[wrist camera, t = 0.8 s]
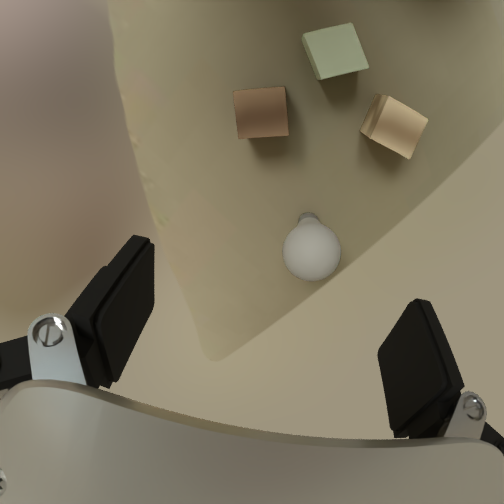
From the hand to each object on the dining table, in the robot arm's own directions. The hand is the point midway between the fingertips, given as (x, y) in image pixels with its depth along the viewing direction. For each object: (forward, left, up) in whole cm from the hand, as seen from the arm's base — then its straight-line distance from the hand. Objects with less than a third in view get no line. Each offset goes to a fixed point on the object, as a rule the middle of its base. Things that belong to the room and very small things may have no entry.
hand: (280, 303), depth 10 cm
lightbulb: (+9, +5, -28) cm, 29 cm away
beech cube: (-5, +11, -27) cm, 30 cm away
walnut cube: (-3, -3, -27) cm, 28 cm away
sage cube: (-11, +3, -27) cm, 30 cm away
